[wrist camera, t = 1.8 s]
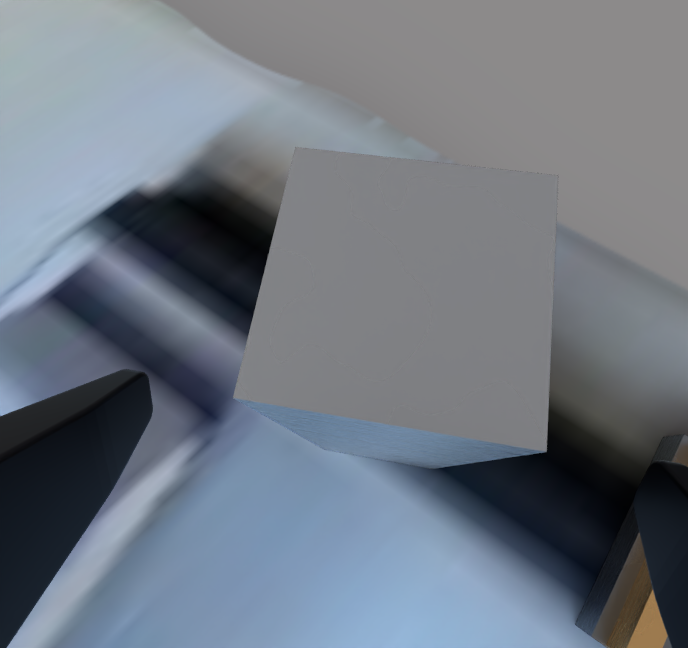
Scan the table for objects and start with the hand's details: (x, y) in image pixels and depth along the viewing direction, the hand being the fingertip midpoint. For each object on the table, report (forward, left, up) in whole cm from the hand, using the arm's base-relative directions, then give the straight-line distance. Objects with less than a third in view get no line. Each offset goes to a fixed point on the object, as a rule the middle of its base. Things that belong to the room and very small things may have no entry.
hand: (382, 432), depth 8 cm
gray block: (+2, +1, -10) cm, 10 cm away
